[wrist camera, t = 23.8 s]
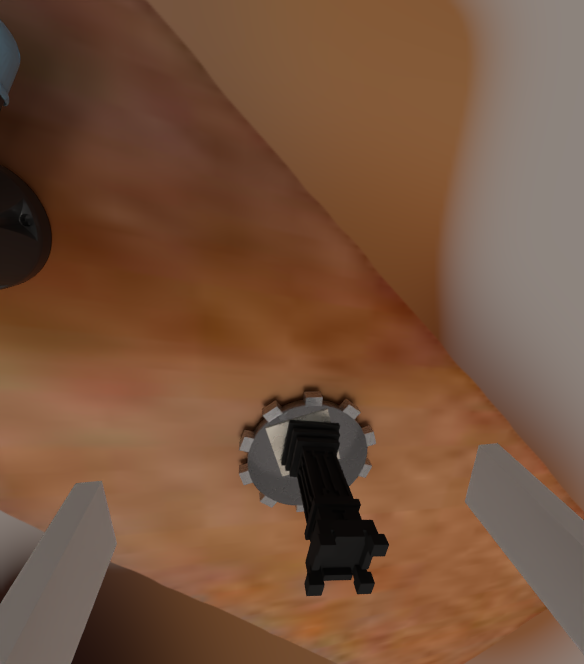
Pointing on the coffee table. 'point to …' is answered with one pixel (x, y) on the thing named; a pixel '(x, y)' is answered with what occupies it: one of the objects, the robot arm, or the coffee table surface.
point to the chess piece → (329, 510)
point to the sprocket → (271, 439)
